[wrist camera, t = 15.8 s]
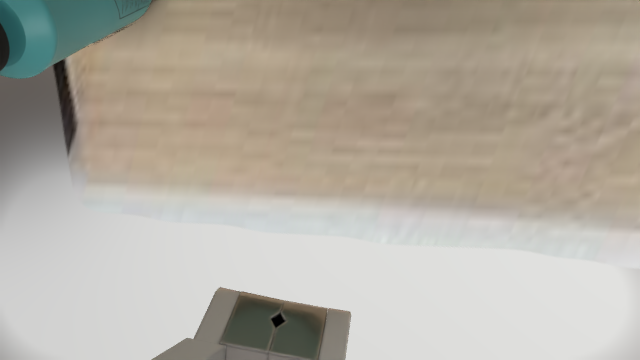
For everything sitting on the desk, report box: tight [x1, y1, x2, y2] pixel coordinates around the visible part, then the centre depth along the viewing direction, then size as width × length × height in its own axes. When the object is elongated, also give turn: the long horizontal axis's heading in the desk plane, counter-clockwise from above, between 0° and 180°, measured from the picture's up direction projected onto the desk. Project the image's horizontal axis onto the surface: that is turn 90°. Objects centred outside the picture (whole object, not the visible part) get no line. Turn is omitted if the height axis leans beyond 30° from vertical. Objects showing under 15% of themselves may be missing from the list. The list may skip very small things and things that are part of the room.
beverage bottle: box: [0, 0, 152, 79], centre depth 36 cm, size 6×7×20 cm
